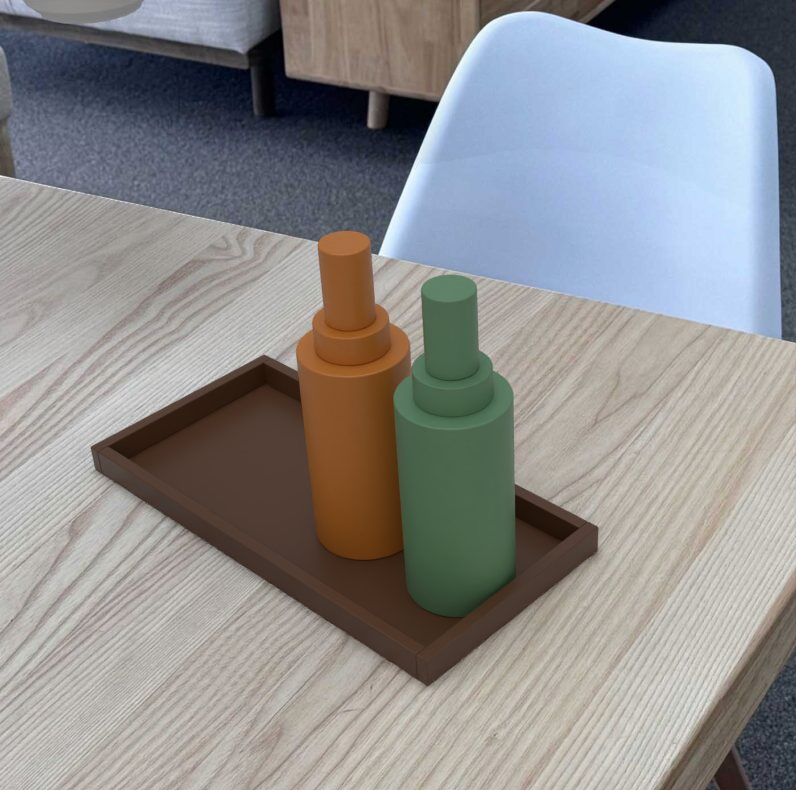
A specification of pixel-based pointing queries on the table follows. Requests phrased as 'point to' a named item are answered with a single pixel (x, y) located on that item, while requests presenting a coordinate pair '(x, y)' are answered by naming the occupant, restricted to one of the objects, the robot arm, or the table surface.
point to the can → (83, 10)
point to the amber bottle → (352, 405)
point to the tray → (295, 522)
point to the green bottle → (455, 459)
